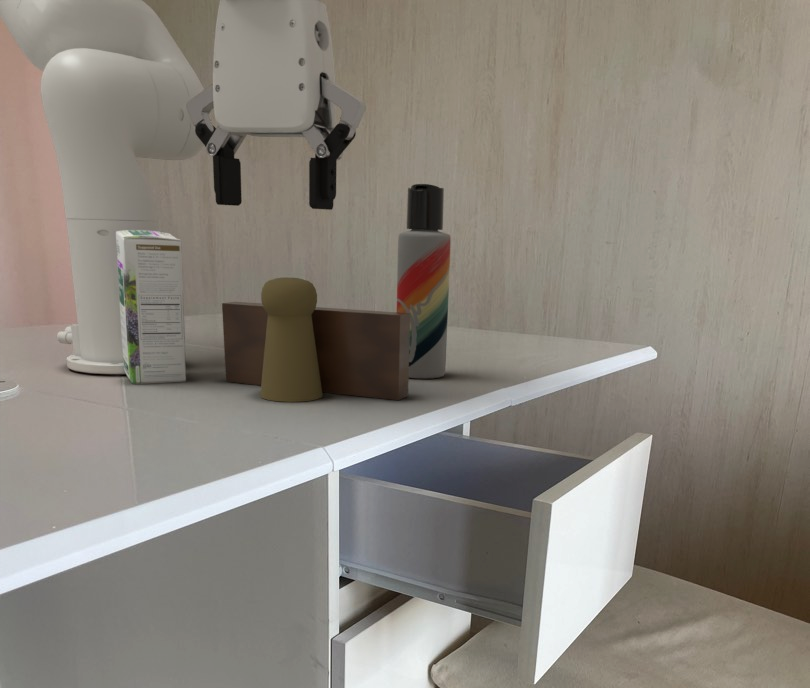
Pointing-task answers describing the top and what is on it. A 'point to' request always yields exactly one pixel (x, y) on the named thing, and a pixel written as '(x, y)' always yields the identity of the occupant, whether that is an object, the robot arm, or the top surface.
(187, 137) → the robot arm
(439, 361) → the lotion bottle
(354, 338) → the brown wooden block
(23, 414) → the top surface
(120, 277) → the syrup box
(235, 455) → the top surface
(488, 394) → the top surface
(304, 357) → the cork
